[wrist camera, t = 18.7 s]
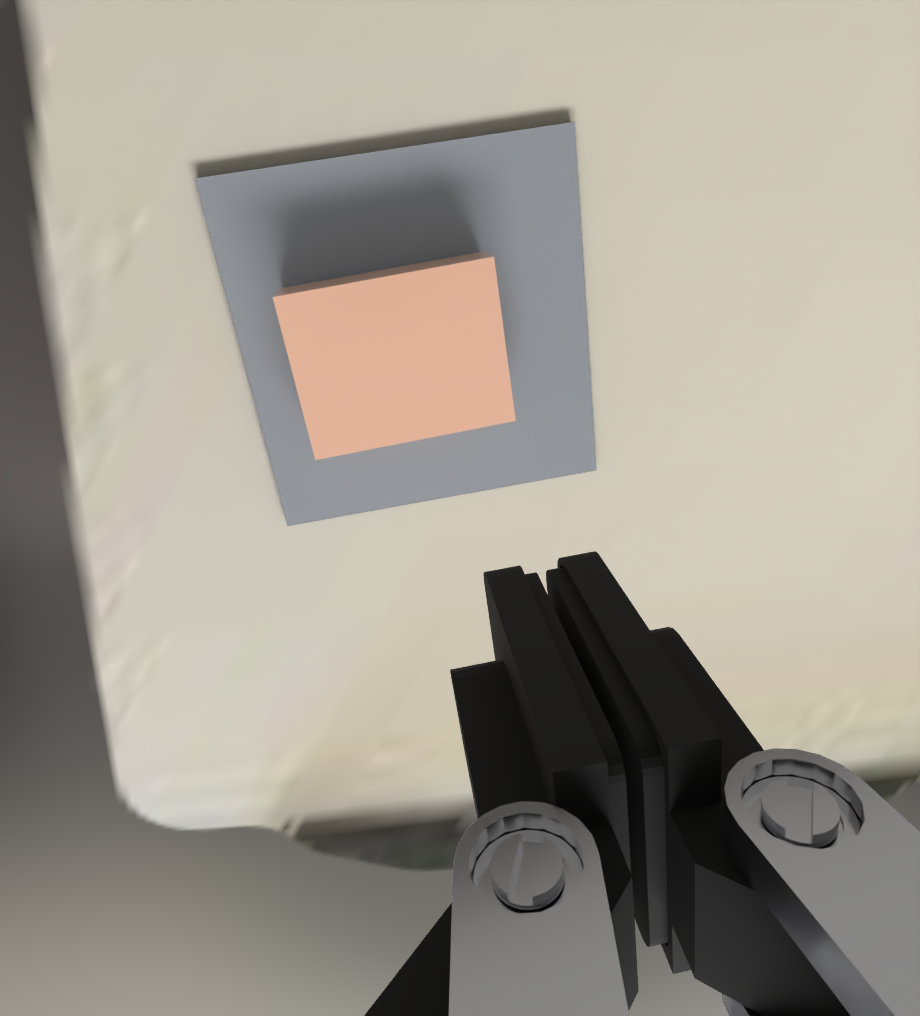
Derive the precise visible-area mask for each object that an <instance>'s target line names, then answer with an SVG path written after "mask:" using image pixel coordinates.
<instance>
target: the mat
mask: <svg viewBox="0 0 920 1016" xmlns="http://www.w3.org/2000/svg"><path fill="white" fill-rule="evenodd" d="M195 182H196V186H197V190H198V193H199V197H200V201H201V205H202V208H203V212H204V216H205V220H206V223H207V227H208V231H209V234H210V238H211V242H212V246H213V249H214V253H215V257H216V261H217V264H218V268H219V272H220V276H221V279H222V283H223V287H224V291H225V294H226V298H227V302H228V306H229V309H230V313H231V317H232V321H233V324H234V328H235V332H236V335H237V339H238V343H239V347H240V350H241V354H242V358H243V362H244V365H245V369H246V373H247V377H248V380H249V384H250V388H251V392H252V395H253V399H254V403H255V407H256V410H257V414H258V418H259V421H260V425H261V429H262V433H263V436H264V440H265V444H266V448H267V451H268V455H269V459H270V463H271V466H272V470H273V474H274V478H275V481H276V485H277V489H278V493H279V496H280V500H281V504H282V508H283V511H284V515H285V519H286V522H287V526H291V525H296V524H302V523H307V522H313V521H318V520H324V519H329V518H335V517H340V516H346V515H352V514H357V513H363V512H368V511H374V510H379V509H385V508H390V507H396V506H401V505H407V504H412V503H418V502H423V501H429V500H434V499H440V498H446V497H451V496H457V495H462V494H468V493H473V492H479V491H484V490H490V489H495V488H501V487H506V486H512V485H517V484H523V483H529V482H534V481H540V480H545V479H551V478H556V477H562V476H567V475H573V474H578V473H584V472H589V471H595V470H596V456H595V440H594V424H593V408H592V393H591V377H590V361H589V345H588V329H587V313H586V297H585V281H584V265H583V250H582V234H581V218H580V202H579V186H578V170H577V154H576V138H575V122H570V123H563V124H556V125H550V126H543V127H536V128H530V129H523V130H516V131H509V132H503V133H496V134H489V135H483V136H476V137H469V138H462V139H456V140H449V141H442V142H436V143H429V144H422V145H415V146H409V147H402V148H395V149H389V150H382V151H375V152H368V153H362V154H355V155H348V156H342V157H335V158H328V159H321V160H315V161H308V162H301V163H295V164H288V165H281V166H274V167H268V168H261V169H254V170H248V171H241V172H234V173H227V174H221V175H214V176H207V177H201V178H195ZM476 252H485V253H487V254H489V255H491V256H494V260H495V268H496V276H497V283H498V291H499V298H500V306H501V313H502V321H503V328H504V336H505V343H506V351H507V359H508V366H509V374H510V381H511V389H512V396H513V404H514V411H515V419H516V421H513V422H508V423H502V424H497V425H492V426H487V427H482V428H477V429H472V430H467V431H462V432H457V433H451V434H446V435H441V436H436V437H431V438H426V439H421V440H416V441H411V442H406V443H400V444H395V445H390V446H385V447H380V448H375V449H370V450H365V451H360V452H355V453H349V454H344V455H339V456H334V457H329V458H324V459H319V460H315V457H314V453H313V450H312V446H311V442H310V438H309V434H308V431H307V427H306V423H305V419H304V415H303V411H302V408H301V404H300V400H299V396H298V392H297V389H296V385H295V381H294V377H293V373H292V370H291V366H290V362H289V358H288V354H287V351H286V347H285V343H284V339H283V335H282V331H281V328H280V324H279V320H278V316H277V312H276V309H275V305H274V301H273V296H274V295H275V294H276V292H277V291H278V290H279V289H280V288H284V287H290V286H295V285H301V284H306V283H312V282H317V281H323V280H328V279H334V278H339V277H345V276H350V275H356V274H361V273H367V272H372V271H378V270H383V269H388V268H394V267H399V266H405V265H410V264H416V263H421V262H427V261H432V260H438V259H443V258H449V257H454V256H460V255H465V254H471V253H476Z"/></svg>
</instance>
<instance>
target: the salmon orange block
mask: <svg viewBox="0 0 920 1016" xmlns="http://www.w3.org/2000/svg"><path fill="white" fill-rule="evenodd" d="M273 301H274V305H275V309H276V312H277V316H278V320H279V324H280V328H281V331H282V335H283V339H284V343H285V347H286V351H287V354H288V358H289V362H290V366H291V370H292V373H293V377H294V381H295V385H296V389H297V392H298V396H299V400H300V404H301V408H302V411H303V415H304V419H305V423H306V427H307V431H308V434H309V438H310V442H311V446H312V450H313V453H314V457H315V460H319V459H324V458H329V457H334V456H339V455H344V454H349V453H355V452H360V451H365V450H370V449H375V448H380V447H385V446H390V445H395V444H400V443H406V442H411V441H416V440H421V439H426V438H431V437H436V436H441V435H446V434H451V433H457V432H462V431H467V430H472V429H477V428H482V427H487V426H492V425H497V424H502V423H508V422H513V421H516V419H515V411H514V404H513V396H512V389H511V381H510V374H509V366H508V359H507V351H506V343H505V336H504V328H503V321H502V313H501V306H500V298H499V291H498V283H497V276H496V268H495V260H494V256H491V255H489V254H487V253H485V252H476V253H471V254H465V255H460V256H454V257H449V258H443V259H438V260H432V261H427V262H421V263H416V264H410V265H405V266H399V267H394V268H388V269H383V270H378V271H372V272H367V273H361V274H356V275H350V276H345V277H339V278H334V279H328V280H323V281H317V282H312V283H306V284H301V285H295V286H290V287H284V288H280V289H279V290H278V291H277V292H276V294H275V295H274V296H273Z"/></svg>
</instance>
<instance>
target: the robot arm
mask: <svg viewBox="0 0 920 1016" xmlns="http://www.w3.org/2000/svg"><path fill="white" fill-rule="evenodd" d="M546 581H547V591H548V595H547V593H546V591H545V589H544V587H543V584H542V582H541V580H540V578H539V576H538V574H537V573H536V572H535V573H530V574H524V572H523V569H522V568H521V566H515V567H509V568H504V569H499V570H494V571H488V572H484V584H485V591H486V598H487V605H488V612H489V619H490V626H491V633H492V640H493V647H494V654H495V660H496V661H492V662H487V663H482V664H477V665H472V666H467V667H462V668H457V669H452V670H450V672H451V678H452V684H453V689H454V695H455V701H456V706H457V712H458V717H459V723H460V728H461V734H462V739H463V745H464V750H465V755H466V761H467V766H468V771H469V777H470V782H471V787H472V792H473V797H474V803H475V808H476V813H477V818H478V819H477V820H476V821H475V822H474V823H473V824H472V825H471V826H470V827H469V828H468V829H467V830H466V832H465V833H464V835H463V837H462V839H461V840H460V842H459V844H458V845H457V849H456V854H455V859H454V864H453V887H452V890H453V891H452V903H451V904H450V906H449V907H448V908H447V910H446V911H445V912H444V914H443V915H442V916H441V917H440V919H439V920H438V921H437V923H436V924H435V925H434V926H433V928H432V929H431V930H430V932H429V933H428V934H427V935H426V937H425V938H424V939H423V941H422V942H421V944H419V946H418V947H417V948H416V950H415V951H414V952H413V954H412V955H411V956H410V958H409V959H408V960H407V961H406V963H405V964H404V965H403V966H402V968H401V969H400V970H399V972H398V973H397V974H396V976H395V977H394V978H393V980H392V981H391V982H390V983H389V985H388V986H387V987H386V988H385V990H384V991H383V992H382V994H381V995H380V996H379V997H378V999H377V1000H376V1001H375V1003H374V1004H373V1005H372V1007H371V1008H370V1009H369V1010H368V1012H367V1013H366V1014H365V1016H629V1009H630V1007H631V1005H632V1003H633V1001H634V999H635V997H636V995H637V993H638V976H637V958H636V940H635V922H634V917H635V920H636V922H637V925H638V928H639V930H640V933H641V935H642V937H643V940H644V942H645V943H646V945H647V946H648V947H650V946H654V945H659V944H661V945H662V948H663V950H664V953H665V955H666V958H667V960H668V963H669V965H670V967H671V970H672V972H673V974H674V973H679V972H683V971H688V970H692V973H693V975H694V977H695V979H697V980H699V981H701V982H703V983H704V984H706V985H708V986H710V987H712V988H714V989H715V990H717V991H719V992H721V994H722V1000H723V1003H724V1006H725V1008H726V1010H727V1012H728V1014H729V1016H920V832H919V831H918V830H917V829H915V828H914V827H913V826H912V825H911V824H910V823H909V822H908V821H907V820H906V819H904V818H903V817H902V816H901V815H900V814H899V813H898V812H897V811H896V810H895V809H894V808H892V807H891V806H890V805H889V804H888V803H887V802H886V801H885V800H884V799H883V798H881V797H880V796H879V795H878V794H877V793H876V792H875V791H874V790H873V789H872V788H870V787H869V786H868V785H867V784H866V783H865V782H864V781H863V780H862V779H861V778H859V777H858V776H856V775H855V774H854V773H852V772H851V771H850V770H848V769H847V768H845V767H844V766H843V765H841V764H839V763H837V762H835V761H832V760H830V759H828V758H826V757H823V756H821V755H819V754H815V753H810V752H806V751H802V750H798V749H769V750H763V748H762V747H761V746H760V744H759V743H758V742H757V740H756V739H755V737H754V736H753V735H752V733H751V732H750V731H749V729H748V728H747V727H746V725H745V724H744V722H743V721H742V720H741V718H740V717H739V716H738V714H737V713H736V712H735V710H734V709H733V707H732V706H731V705H730V703H729V702H728V701H727V699H726V698H725V697H724V695H723V694H722V692H721V691H720V690H719V688H718V687H717V686H716V684H715V683H714V681H713V680H712V679H711V677H710V676H709V675H708V673H707V672H706V671H705V669H704V668H703V666H702V665H701V664H700V662H699V661H698V660H697V658H696V657H695V656H694V654H693V653H692V651H691V650H690V649H689V647H688V646H687V645H686V643H685V642H684V641H683V639H682V638H681V636H680V635H679V634H678V633H677V632H676V631H675V630H674V629H673V628H670V627H666V628H661V629H655V630H649V629H648V627H647V626H646V624H645V623H644V621H643V620H642V618H641V617H640V615H639V614H638V612H637V611H636V609H635V608H634V606H633V605H632V603H631V602H630V600H629V599H628V597H627V596H626V594H625V593H624V591H623V590H622V588H621V587H620V585H619V584H618V582H617V581H616V579H615V578H614V576H613V575H612V573H611V572H610V570H609V569H608V567H607V566H606V565H605V563H604V562H603V560H602V559H601V557H600V556H599V554H598V553H597V552H589V553H584V554H579V555H573V556H568V557H563V558H559V559H558V568H557V569H551V570H547V572H546Z"/></svg>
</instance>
